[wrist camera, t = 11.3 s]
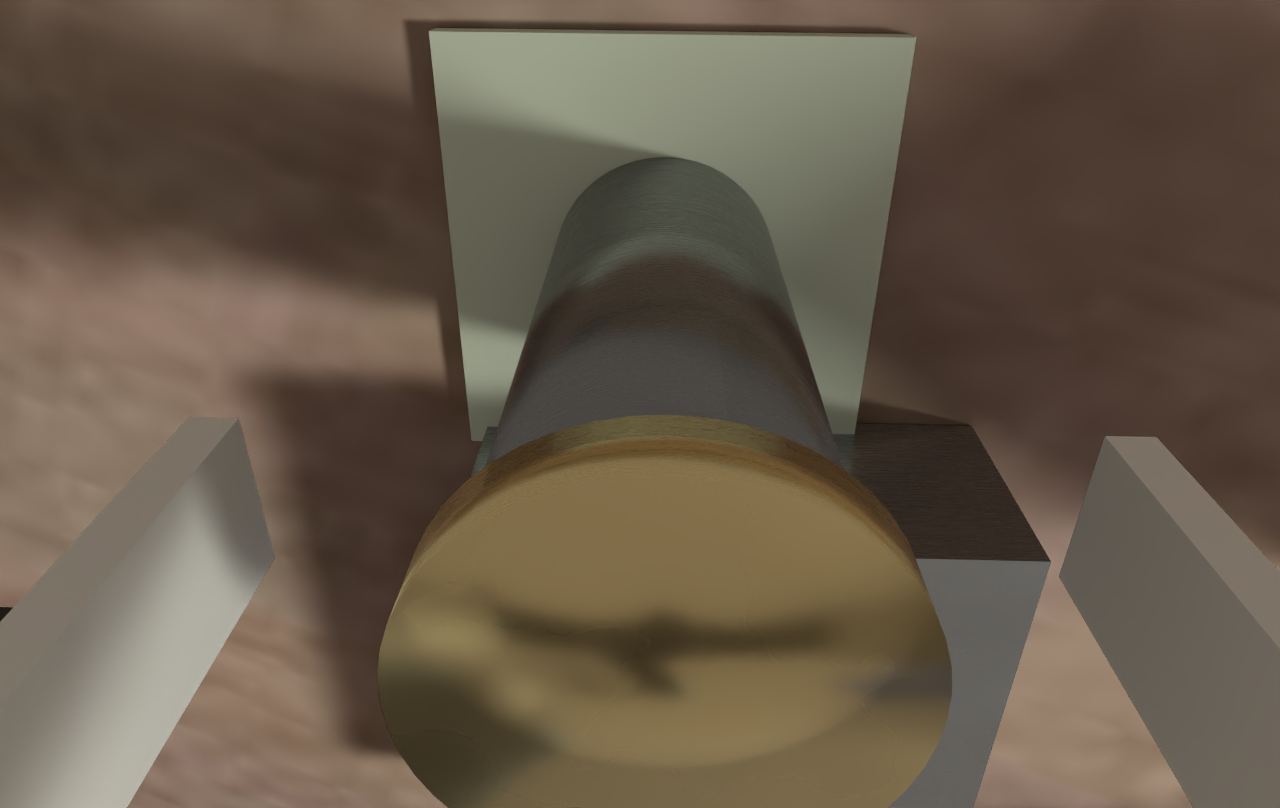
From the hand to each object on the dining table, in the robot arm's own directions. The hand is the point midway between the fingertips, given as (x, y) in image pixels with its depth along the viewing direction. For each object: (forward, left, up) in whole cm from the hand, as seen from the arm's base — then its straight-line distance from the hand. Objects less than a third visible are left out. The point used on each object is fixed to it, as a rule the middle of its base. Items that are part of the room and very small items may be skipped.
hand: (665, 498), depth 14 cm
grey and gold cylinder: (0, 0, -10) cm, 10 cm away
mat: (0, 0, -11) cm, 11 cm away
